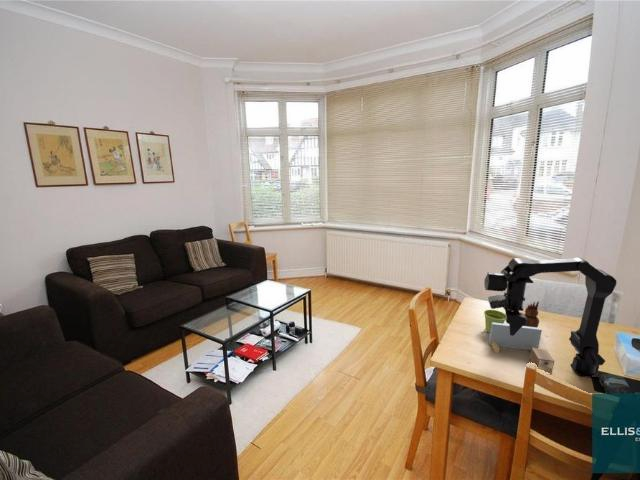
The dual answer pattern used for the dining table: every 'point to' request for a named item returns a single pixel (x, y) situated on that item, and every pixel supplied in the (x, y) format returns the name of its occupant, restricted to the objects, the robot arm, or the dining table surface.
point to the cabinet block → (542, 359)
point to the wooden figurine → (532, 315)
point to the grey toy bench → (514, 337)
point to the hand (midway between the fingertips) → (509, 329)
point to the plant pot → (493, 318)
